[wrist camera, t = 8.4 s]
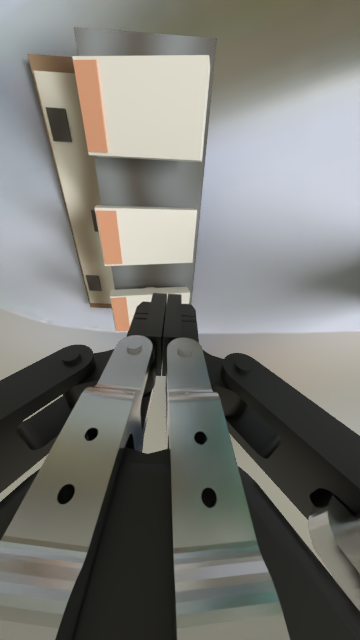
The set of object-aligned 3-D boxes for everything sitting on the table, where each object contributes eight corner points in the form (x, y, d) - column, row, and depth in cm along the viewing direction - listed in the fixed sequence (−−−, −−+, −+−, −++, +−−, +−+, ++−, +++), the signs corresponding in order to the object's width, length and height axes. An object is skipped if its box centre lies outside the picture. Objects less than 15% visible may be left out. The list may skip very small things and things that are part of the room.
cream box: (185, 283, 25) (190, 293, 23) (183, 316, 28) (187, 327, 26) (111, 286, 23) (109, 297, 21) (117, 321, 26) (116, 333, 24)
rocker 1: (210, 72, 14) (208, 53, 12) (202, 162, 17) (199, 160, 15) (91, 72, 15) (70, 55, 13) (103, 157, 18) (87, 154, 16)
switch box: (208, 72, 18) (216, 38, 14) (187, 308, 34) (188, 328, 29) (34, 59, 18) (-15, 20, 14) (92, 303, 33) (78, 323, 29)
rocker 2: (189, 206, 20) (197, 210, 18) (186, 255, 23) (192, 263, 21) (96, 204, 18) (94, 207, 16) (105, 258, 21) (104, 266, 19)
